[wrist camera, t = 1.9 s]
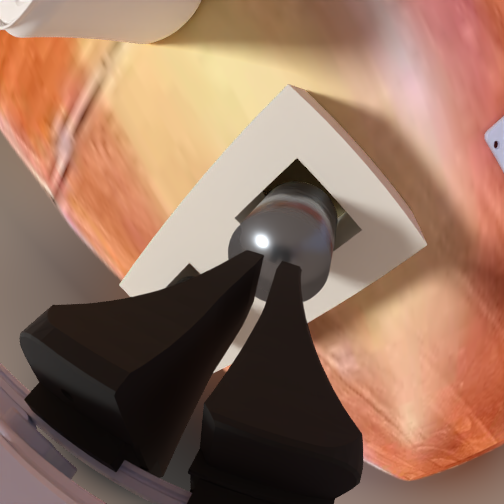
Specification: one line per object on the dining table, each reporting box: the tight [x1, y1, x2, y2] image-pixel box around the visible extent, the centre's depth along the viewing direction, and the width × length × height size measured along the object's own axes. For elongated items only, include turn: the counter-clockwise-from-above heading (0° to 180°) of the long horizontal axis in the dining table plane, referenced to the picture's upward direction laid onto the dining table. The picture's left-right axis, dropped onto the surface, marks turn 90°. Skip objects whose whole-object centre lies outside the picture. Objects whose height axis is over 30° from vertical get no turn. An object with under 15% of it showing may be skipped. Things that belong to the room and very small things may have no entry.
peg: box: [228, 181, 337, 302], centre depth 14 cm, size 4×4×4 cm
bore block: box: [119, 84, 427, 373], centre depth 19 cm, size 10×18×5 cm, turn 138°
